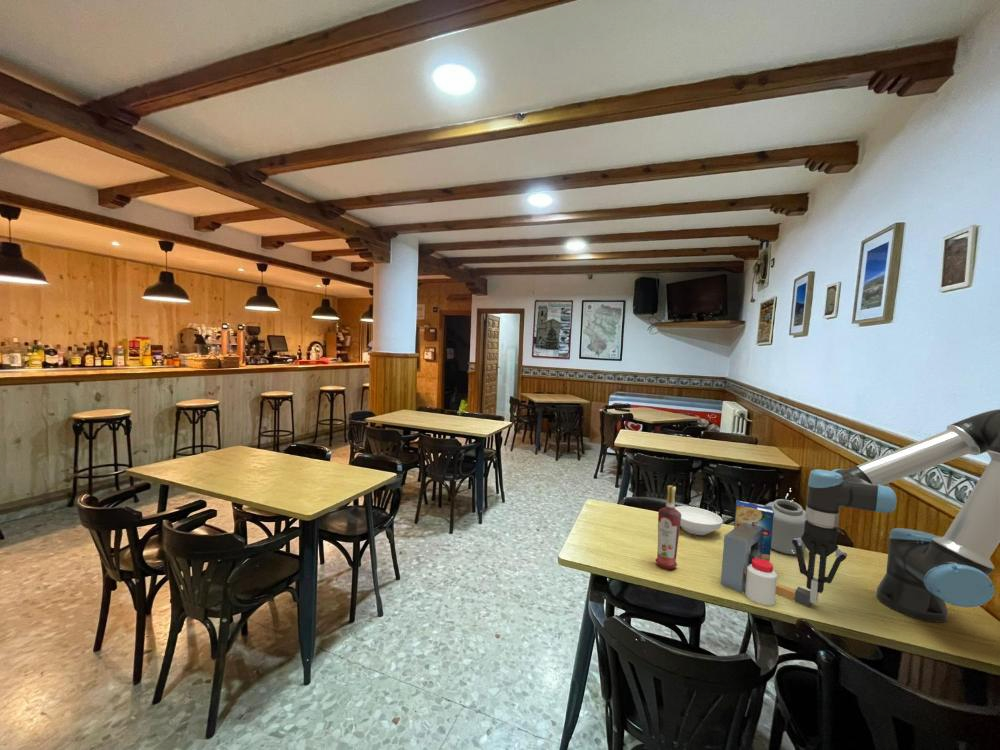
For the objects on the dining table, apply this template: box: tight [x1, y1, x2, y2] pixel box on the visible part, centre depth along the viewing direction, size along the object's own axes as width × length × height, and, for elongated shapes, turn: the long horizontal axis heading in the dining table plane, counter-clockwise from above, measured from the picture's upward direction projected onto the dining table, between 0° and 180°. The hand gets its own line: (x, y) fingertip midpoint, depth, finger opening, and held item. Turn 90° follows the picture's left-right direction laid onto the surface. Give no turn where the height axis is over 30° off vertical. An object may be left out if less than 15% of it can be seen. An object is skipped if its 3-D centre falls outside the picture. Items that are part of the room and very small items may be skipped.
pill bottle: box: [744, 558, 778, 607], centre depth 123 cm, size 8×8×11 cm
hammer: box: [750, 548, 813, 608], centre depth 128 cm, size 20×6×10 cm, turn 43°
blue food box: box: [733, 499, 774, 563], centre depth 142 cm, size 7×11×22 cm, turn 60°
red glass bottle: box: [655, 484, 681, 570], centre depth 139 cm, size 7×7×28 cm
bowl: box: [675, 505, 723, 536], centre depth 170 cm, size 20×20×7 cm
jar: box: [765, 487, 807, 555], centre depth 156 cm, size 19×15×25 cm
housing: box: [720, 523, 764, 594], centre depth 134 cm, size 6×20×16 cm, turn 132°
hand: (813, 600), depth 120 cm, fingers closed
